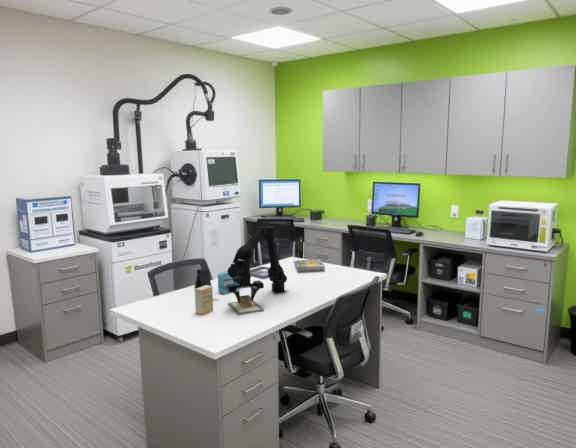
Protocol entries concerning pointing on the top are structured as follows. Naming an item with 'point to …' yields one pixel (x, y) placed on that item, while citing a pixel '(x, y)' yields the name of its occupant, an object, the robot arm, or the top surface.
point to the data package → (224, 282)
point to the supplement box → (203, 299)
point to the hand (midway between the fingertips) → (245, 302)
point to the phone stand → (202, 278)
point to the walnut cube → (245, 301)
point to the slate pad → (240, 310)
